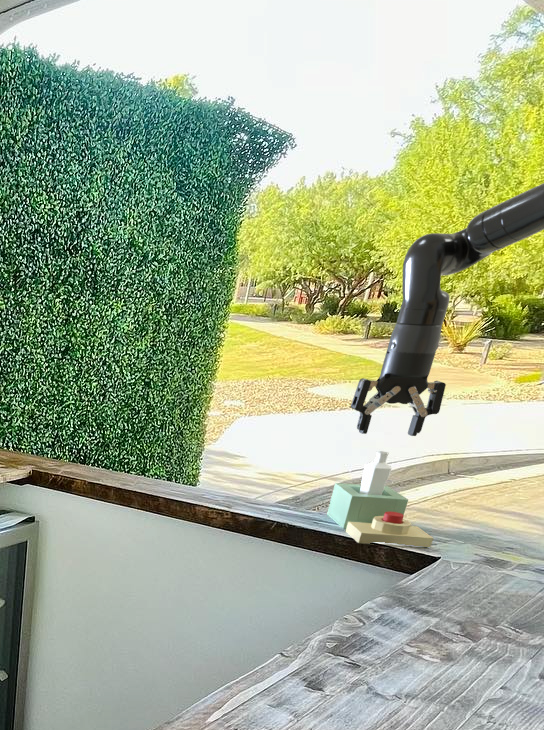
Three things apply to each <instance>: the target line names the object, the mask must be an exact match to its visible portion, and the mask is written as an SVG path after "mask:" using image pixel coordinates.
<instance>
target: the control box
mask: <svg viewBox="0 0 544 730" xmlns="http://www.w3.org/2000/svg"><path fill="white" fill-rule="evenodd" d="M383 517H384V516H376V517H374V518H373V521H372V523H363V522H348V525H347V528H346V529H345V533H346V534H347V535H349V536H350V537H351V538H352V539H353V540H354V541H355V542H356V543H357V544H363V545H371V544H370V543H372V542H385V543H397V544H405V545H414V546H423V547H430V548H431V547H432V544H433V541H434V537H433V536H431V535H430V534H428V533H427V532H425V531H424V530H423V529H422V528H421V527H419V526H417V525H412V522H410V521H409V520H407V519H404V518H403V520H402V523H401V524H394V523H389V522H385V521H383Z"/></svg>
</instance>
